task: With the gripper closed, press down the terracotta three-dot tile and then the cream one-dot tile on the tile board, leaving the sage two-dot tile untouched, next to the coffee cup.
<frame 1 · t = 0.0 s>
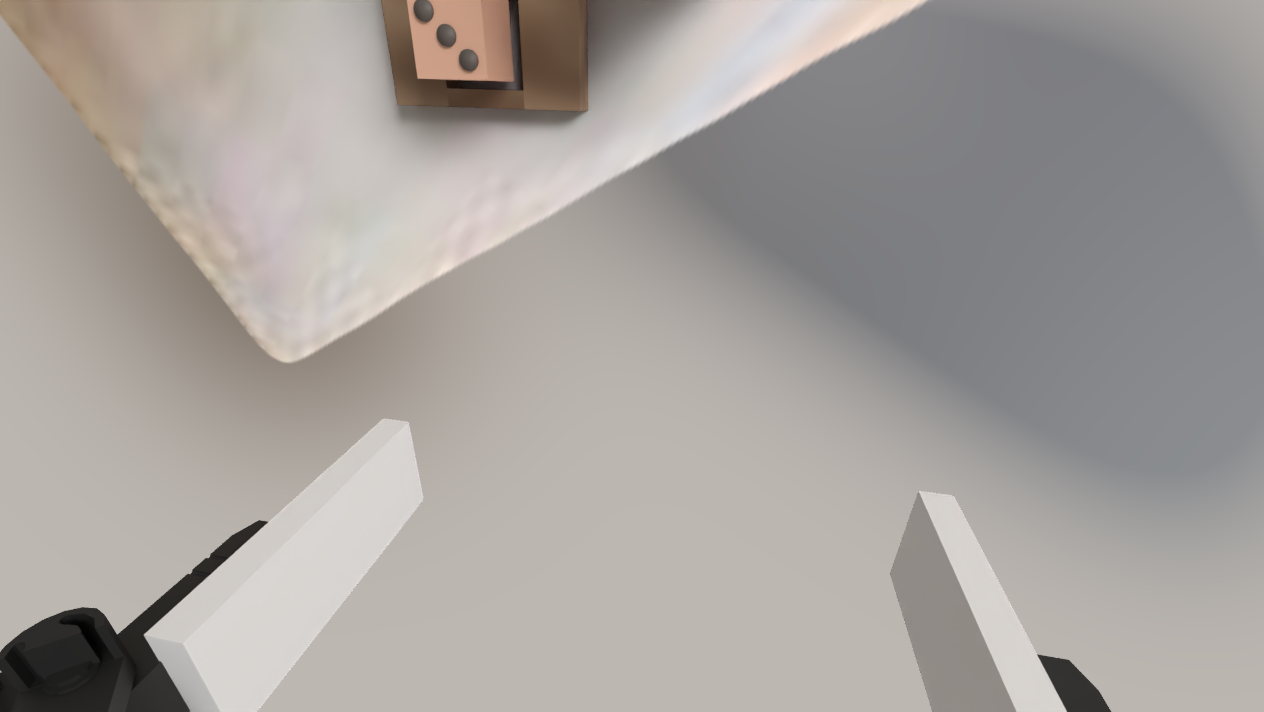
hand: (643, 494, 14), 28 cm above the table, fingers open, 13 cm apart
tile three: (462, 38, 32), point 4 cm above the table, slide at 0.0 cm
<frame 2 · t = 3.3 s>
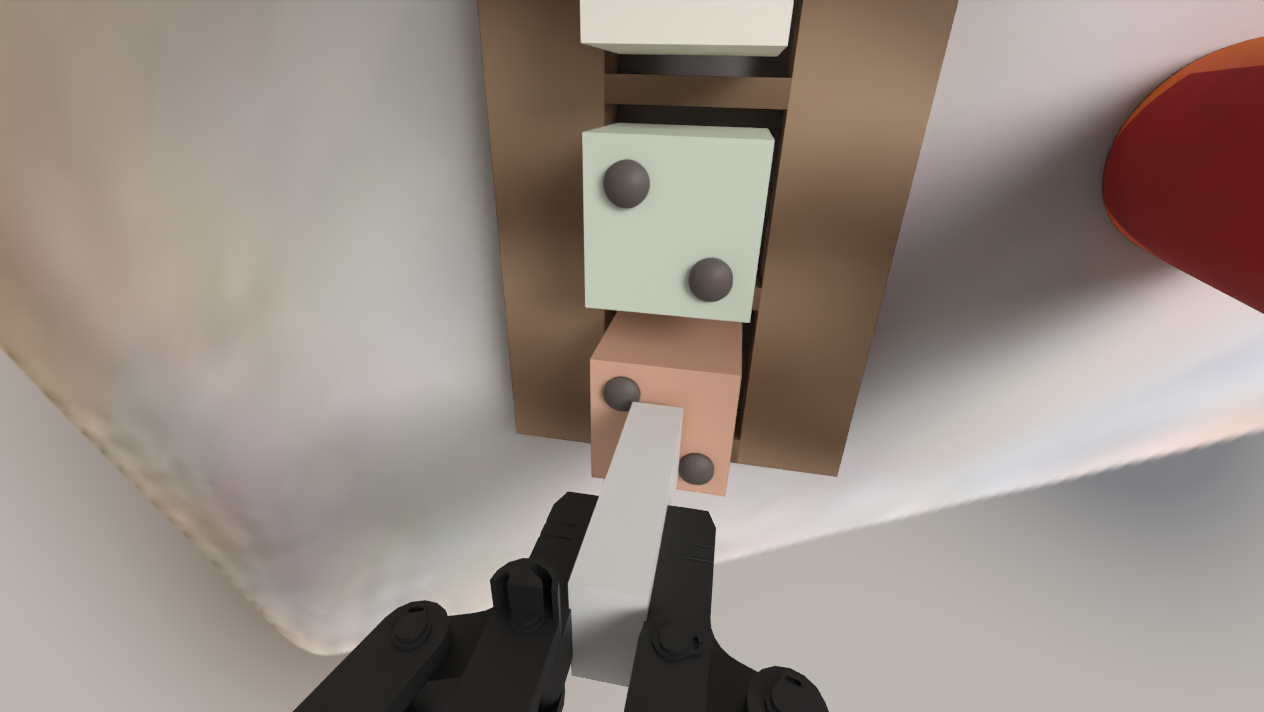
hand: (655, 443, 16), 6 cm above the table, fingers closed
tile three: (668, 398, 18), point 4 cm above the table, slide at 0.4 cm, touching gripper
coffee cup: (1220, 151, 15), on the table
tile two: (678, 216, 15), point 4 cm above the table, slide at 0.0 cm
tile board: (692, 189, 19), on the table
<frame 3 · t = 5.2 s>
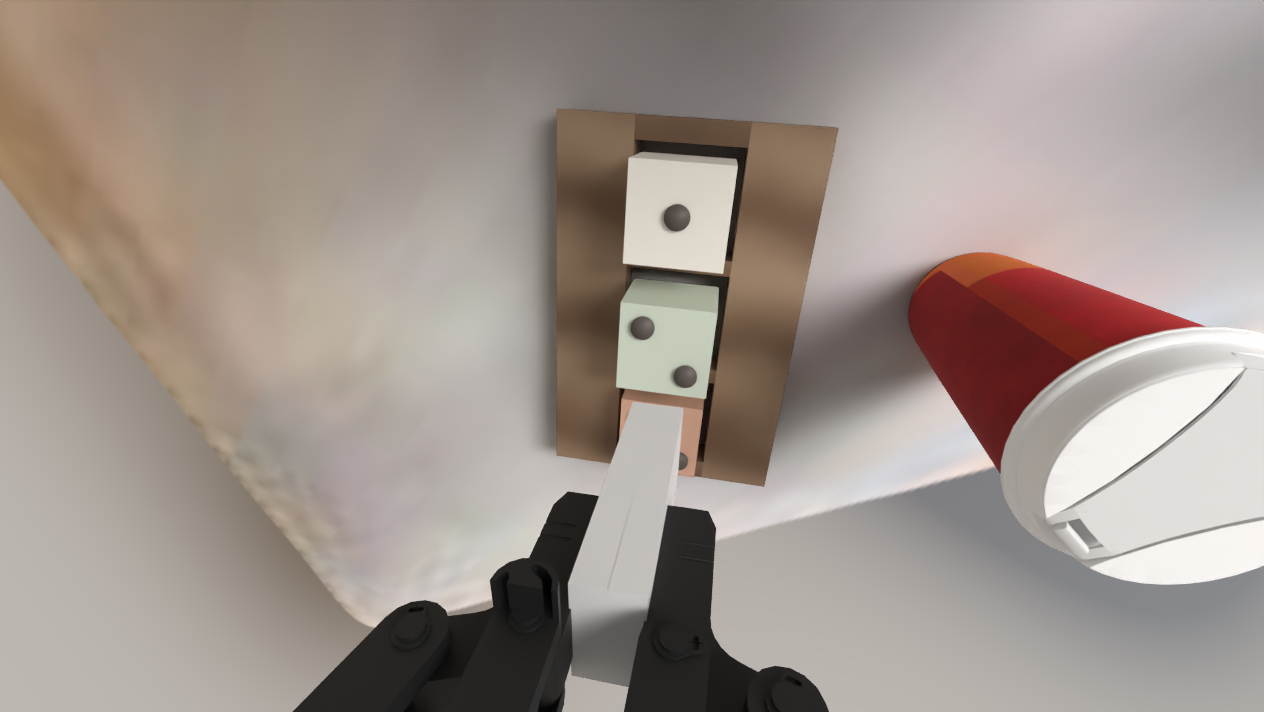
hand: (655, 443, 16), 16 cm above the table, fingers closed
tile three: (662, 421, 31), point 2 cm above the table, slide at 2.1 cm
coffee cup: (968, 305, 28), on the table
tile one: (680, 210, 24), point 4 cm above the table, slide at 0.0 cm
tile two: (668, 336, 26), point 4 cm above the table, slide at 0.0 cm
tile board: (676, 308, 30), on the table
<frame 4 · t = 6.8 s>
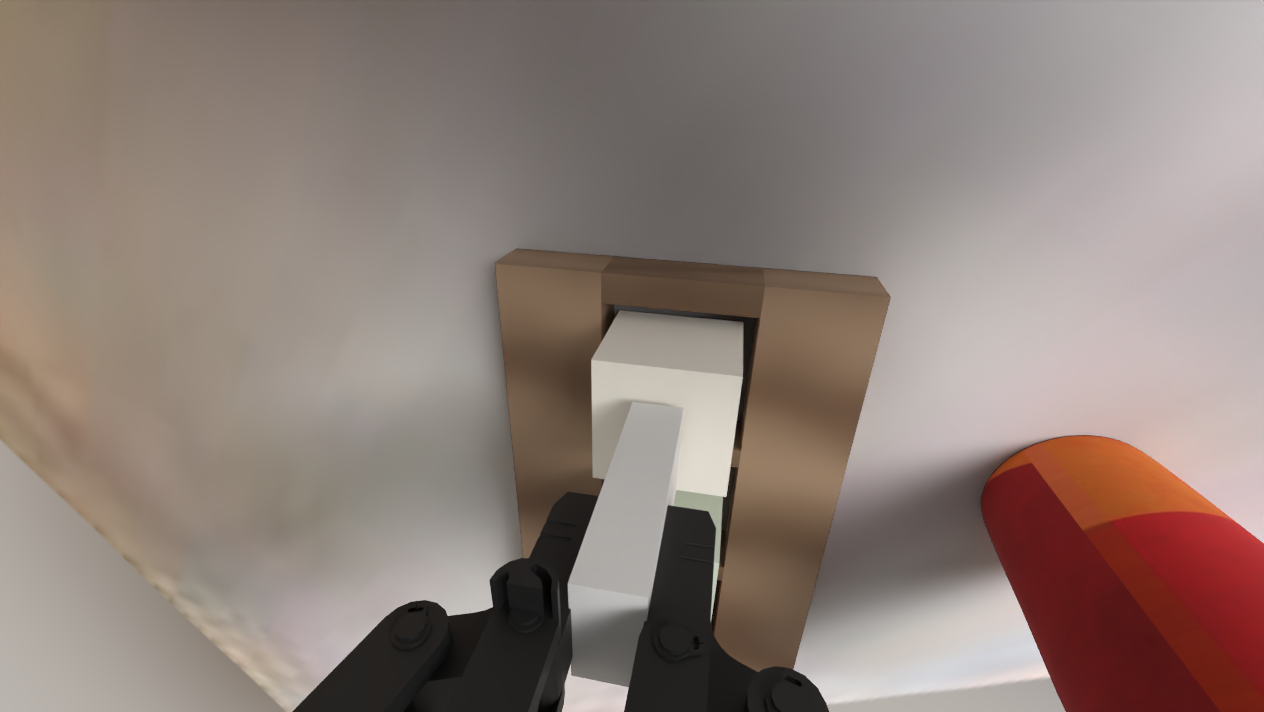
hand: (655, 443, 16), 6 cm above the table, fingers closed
coffee cup: (1065, 494, 21), on the table
tile one: (669, 399, 18), point 3 cm above the table, slide at 1.1 cm, touching gripper
tile two: (656, 555, 20), point 4 cm above the table, slide at 0.0 cm
tile board: (670, 479, 24), on the table
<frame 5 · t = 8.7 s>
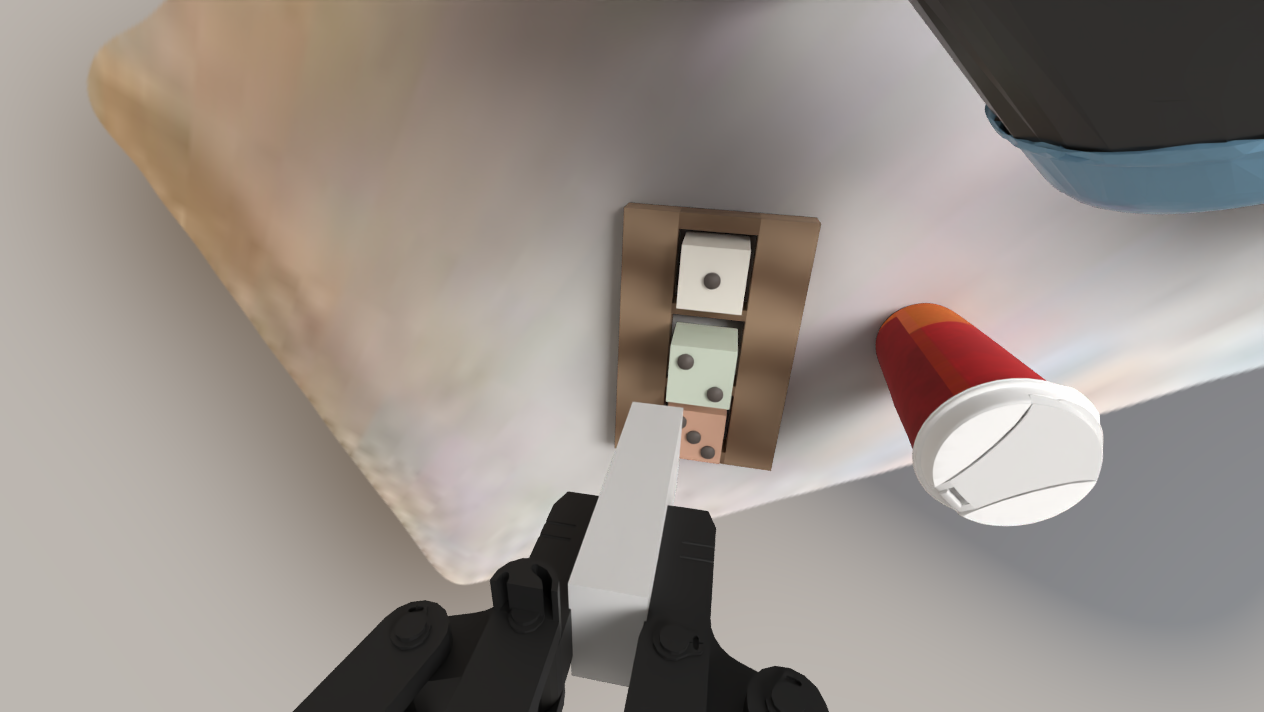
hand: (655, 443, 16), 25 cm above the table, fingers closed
tile three: (695, 423, 42), point 2 cm above the table, slide at 2.1 cm
coffee cup: (918, 339, 39), on the table
tile one: (713, 272, 36), point 2 cm above the table, slide at 2.1 cm
tile two: (702, 365, 37), point 4 cm above the table, slide at 0.0 cm
tile board: (705, 340, 41), on the table
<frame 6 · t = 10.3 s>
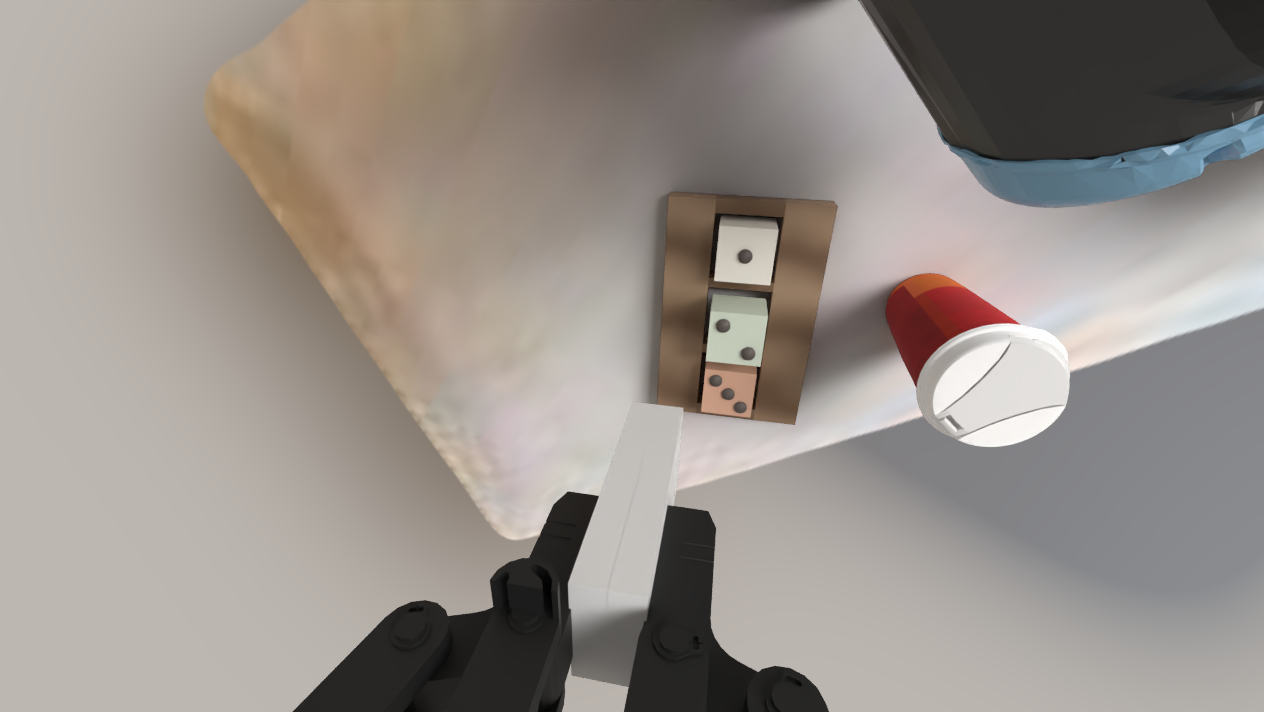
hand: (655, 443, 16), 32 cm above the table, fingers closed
tile three: (728, 383, 48), point 2 cm above the table, slide at 2.1 cm
coffee cup: (923, 305, 45), on the table
tile one: (745, 249, 43), point 2 cm above the table, slide at 2.1 cm
tile two: (736, 330, 44), point 4 cm above the table, slide at 0.0 cm
tile board: (736, 310, 48), on the table
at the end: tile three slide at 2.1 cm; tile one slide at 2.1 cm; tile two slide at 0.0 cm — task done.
